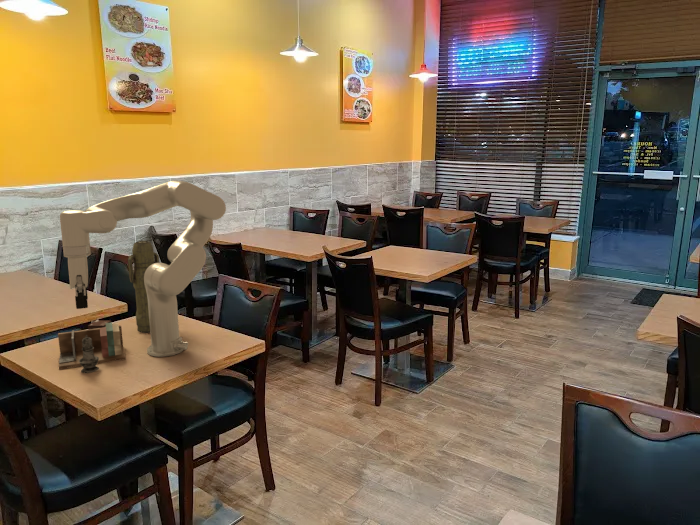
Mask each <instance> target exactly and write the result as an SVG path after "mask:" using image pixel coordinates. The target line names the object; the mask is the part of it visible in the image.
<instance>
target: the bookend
mask: <svg viewBox="0 0 700 525" xmlns="http://www.w3.org/2000/svg"><path fill="white" fill-rule="evenodd" d="M74 331H75V330H74V329H73V330H71V332H72V348H73V352H66V353H59V358H58V359H59V360H58V365H59V364H61V363H68V362H74V361H76V343H75V334H74Z"/></svg>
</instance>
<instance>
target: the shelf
mask: <svg viewBox="0 0 700 525" xmlns="http://www.w3.org/2000/svg"><path fill="white" fill-rule="evenodd" d="M74 334H75V343H76V361H74V362H68V363H61V364H59V363H58V370H63V369H70V368H78V367H82V366H81V364H80V363H79V360H80V359H81V358H83V351H82V348H83V346H82V340H83V339H84V338H85V336H86V335H87V337H90V338H91V339H92V347H94V349H93V354H94V356H97V357H99V360H98V363H97V365H98V364H103V363H110V362H117V361H123V360H126V353H125V349H124V348H125V347H124V342H123V341H124V339H123V330H122V324H119V323H118V322H115V323H113V322H111V323H106V327H103V328H96V329H88V328H87V329H82V330H74ZM57 337H58V346H59V352H60V353H66V352H73V348H72V331H66V332H58V333H57ZM60 353H59V354H60Z"/></svg>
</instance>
